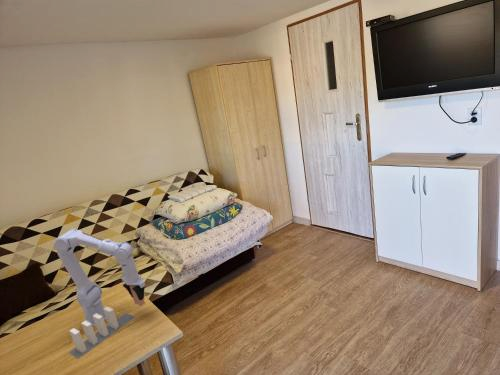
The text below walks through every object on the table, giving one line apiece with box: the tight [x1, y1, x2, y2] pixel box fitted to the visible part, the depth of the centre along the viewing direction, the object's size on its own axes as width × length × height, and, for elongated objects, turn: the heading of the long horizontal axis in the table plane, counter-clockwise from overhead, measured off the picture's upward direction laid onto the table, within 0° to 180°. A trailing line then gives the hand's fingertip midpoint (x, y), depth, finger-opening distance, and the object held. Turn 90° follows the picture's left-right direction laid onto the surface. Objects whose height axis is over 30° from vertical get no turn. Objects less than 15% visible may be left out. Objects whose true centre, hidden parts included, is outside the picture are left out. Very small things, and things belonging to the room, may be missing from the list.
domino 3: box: [93, 313, 109, 337], centre depth 145 cm, size 5×2×9 cm, turn 53°
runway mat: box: [68, 312, 136, 360], centre depth 146 cm, size 8×27×1 cm, turn 143°
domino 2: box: [80, 320, 98, 345], centre depth 141 cm, size 5×2×9 cm, turn 53°
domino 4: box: [103, 306, 119, 329], centre depth 149 cm, size 5×2×9 cm, turn 53°
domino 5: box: [130, 285, 146, 306], centre depth 151 cm, size 5×2×9 cm, turn 53°
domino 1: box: [69, 327, 86, 353], centre depth 138 cm, size 5×2×9 cm, turn 53°
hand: (138, 297), depth 152 cm, fingers closed on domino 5, 5 cm apart
